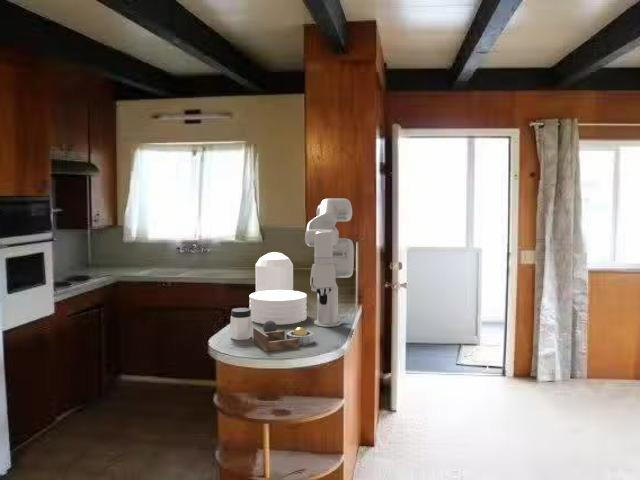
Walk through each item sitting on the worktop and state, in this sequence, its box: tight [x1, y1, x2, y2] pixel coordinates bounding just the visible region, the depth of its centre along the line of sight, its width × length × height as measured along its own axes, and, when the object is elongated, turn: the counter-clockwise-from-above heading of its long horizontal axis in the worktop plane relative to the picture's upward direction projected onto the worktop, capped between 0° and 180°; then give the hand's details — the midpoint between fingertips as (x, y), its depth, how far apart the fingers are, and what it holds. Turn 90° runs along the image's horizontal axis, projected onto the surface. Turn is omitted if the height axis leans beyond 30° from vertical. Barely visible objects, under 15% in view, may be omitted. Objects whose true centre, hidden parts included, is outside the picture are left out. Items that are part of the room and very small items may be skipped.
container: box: [254, 251, 294, 292], centre depth 312 cm, size 21×21×28 cm
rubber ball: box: [262, 320, 278, 333], centre depth 242 cm, size 6×6×6 cm
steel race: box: [286, 329, 315, 346], centre depth 230 cm, size 11×11×4 cm
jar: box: [230, 307, 253, 341], centre depth 236 cm, size 9×8×12 cm
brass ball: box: [293, 326, 308, 336], centre depth 230 cm, size 6×6×6 cm
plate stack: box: [248, 290, 308, 325], centre depth 273 cm, size 28×28×12 cm
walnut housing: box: [252, 327, 299, 352], centre depth 225 cm, size 14×15×6 cm
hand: (323, 304), depth 234 cm, fingers closed
